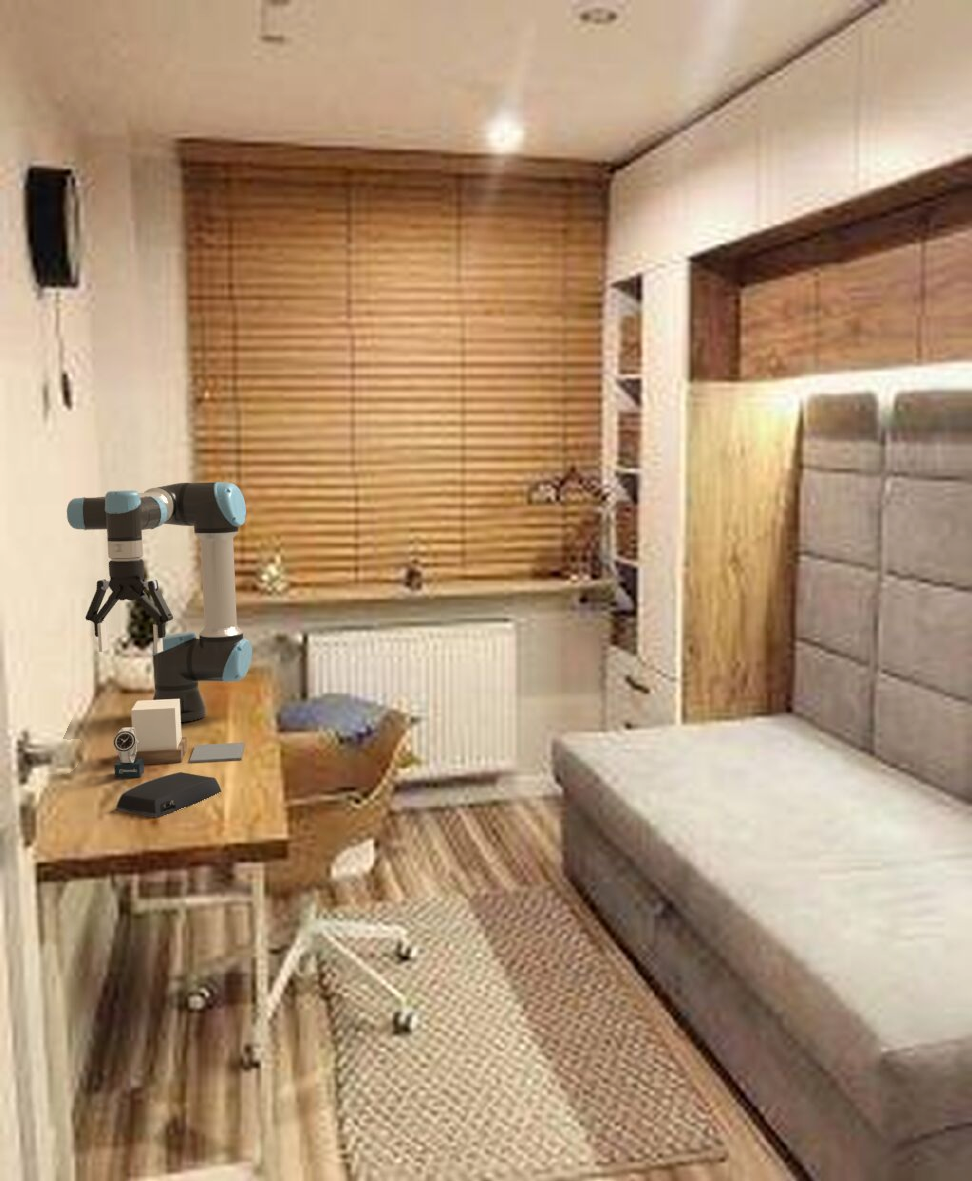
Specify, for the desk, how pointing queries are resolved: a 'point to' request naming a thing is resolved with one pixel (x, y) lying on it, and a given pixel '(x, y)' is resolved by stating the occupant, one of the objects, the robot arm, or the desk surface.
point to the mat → (217, 752)
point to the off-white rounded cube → (157, 724)
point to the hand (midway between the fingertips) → (131, 651)
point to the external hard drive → (167, 794)
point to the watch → (127, 754)
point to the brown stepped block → (164, 754)
